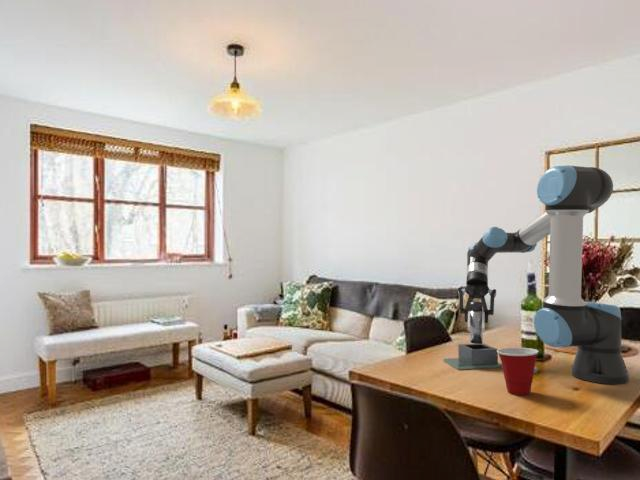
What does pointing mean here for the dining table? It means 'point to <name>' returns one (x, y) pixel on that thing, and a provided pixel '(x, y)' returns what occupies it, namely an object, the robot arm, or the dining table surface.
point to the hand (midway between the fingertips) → (476, 329)
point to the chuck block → (474, 357)
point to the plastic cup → (518, 369)
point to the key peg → (476, 323)
